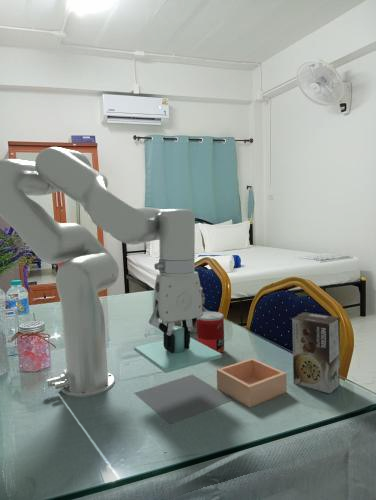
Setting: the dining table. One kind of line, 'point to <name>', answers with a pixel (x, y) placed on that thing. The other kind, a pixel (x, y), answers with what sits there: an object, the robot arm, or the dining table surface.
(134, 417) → the dining table surface
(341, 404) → the dining table surface
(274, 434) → the dining table surface
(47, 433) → the dining table surface
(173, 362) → the lid
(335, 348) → the coffee box
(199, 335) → the canned food
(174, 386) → the mat
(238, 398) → the pink storage bin
